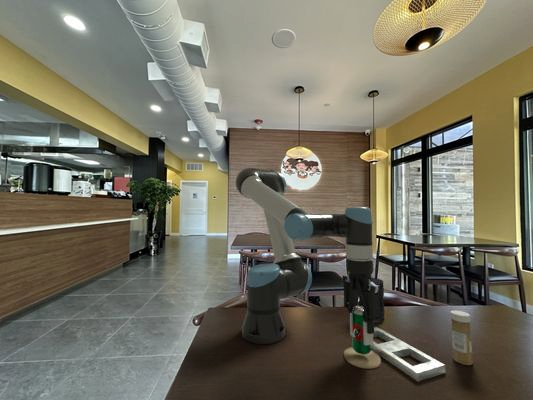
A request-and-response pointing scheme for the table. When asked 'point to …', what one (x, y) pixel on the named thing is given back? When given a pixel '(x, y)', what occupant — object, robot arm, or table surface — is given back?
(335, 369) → the table surface
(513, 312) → the table surface
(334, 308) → the table surface
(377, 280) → the dark blue canister
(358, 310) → the soda can
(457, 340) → the sprinkles bottle
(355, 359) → the coaster
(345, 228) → the robot arm
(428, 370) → the white flat rectangular frame
